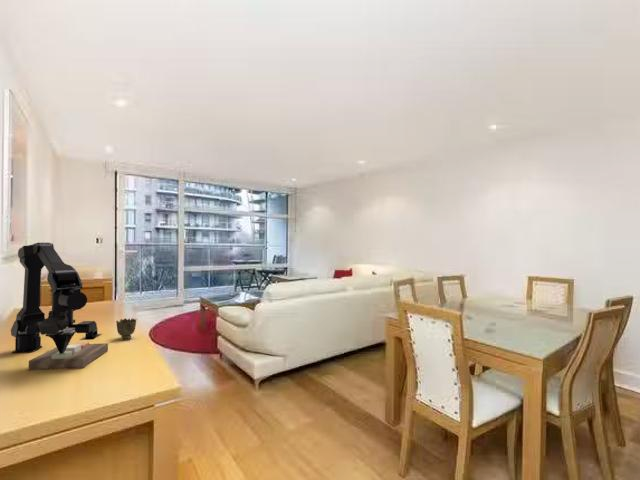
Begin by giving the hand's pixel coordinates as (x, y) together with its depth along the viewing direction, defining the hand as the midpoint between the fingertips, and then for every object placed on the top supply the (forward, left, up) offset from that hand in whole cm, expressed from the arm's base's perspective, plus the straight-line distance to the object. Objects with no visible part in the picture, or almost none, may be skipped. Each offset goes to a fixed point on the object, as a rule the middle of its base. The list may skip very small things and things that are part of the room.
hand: (61, 353), depth 112 cm
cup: (+8, +30, -4) cm, 32 cm away
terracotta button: (0, +11, -3) cm, 11 cm away
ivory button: (0, +5, -3) cm, 6 cm away
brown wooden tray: (0, +5, -4) cm, 7 cm away
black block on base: (-8, +35, -5) cm, 37 cm away
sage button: (0, 0, -3) cm, 3 cm away
